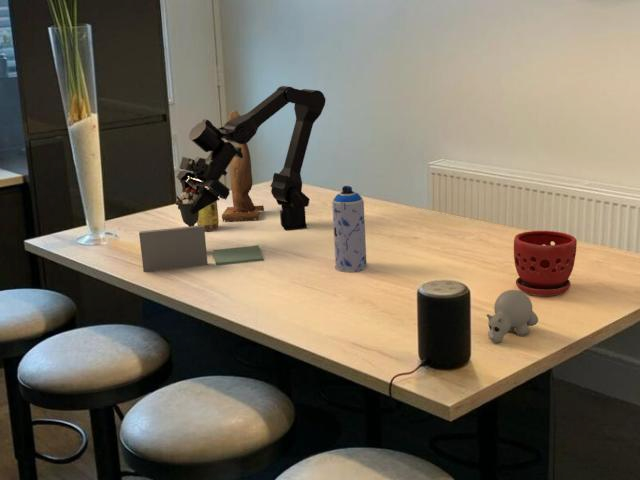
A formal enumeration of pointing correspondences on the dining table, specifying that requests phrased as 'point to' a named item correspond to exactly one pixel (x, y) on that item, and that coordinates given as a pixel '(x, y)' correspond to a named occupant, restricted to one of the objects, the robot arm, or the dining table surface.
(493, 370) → the dining table surface
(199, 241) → the partition board
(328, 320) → the dining table surface
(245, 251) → the rubber mat
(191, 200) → the sundae
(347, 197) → the aerosol can
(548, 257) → the plant pot
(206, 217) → the sauce bottle
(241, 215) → the bird sculpture
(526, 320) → the chubby cartoon animal
